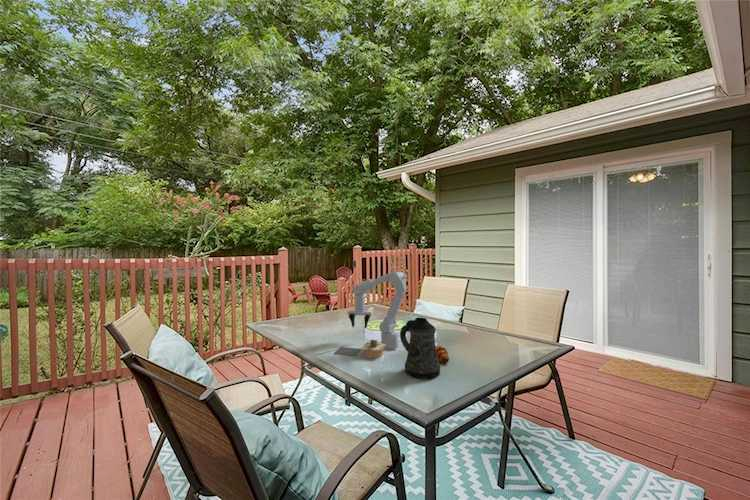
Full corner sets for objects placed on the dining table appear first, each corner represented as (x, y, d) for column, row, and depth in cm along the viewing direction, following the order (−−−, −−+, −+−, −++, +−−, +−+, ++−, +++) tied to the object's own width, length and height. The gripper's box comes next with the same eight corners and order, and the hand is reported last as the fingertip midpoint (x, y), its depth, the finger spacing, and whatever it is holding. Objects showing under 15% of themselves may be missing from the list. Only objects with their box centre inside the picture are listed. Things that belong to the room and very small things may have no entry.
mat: (362, 349, 191) (362, 348, 191) (355, 357, 178) (355, 356, 178) (340, 347, 194) (340, 346, 194) (332, 355, 182) (332, 354, 182)
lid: (386, 345, 185) (386, 338, 185) (381, 351, 174) (381, 344, 174) (366, 343, 187) (366, 337, 187) (360, 349, 177) (360, 342, 177)
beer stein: (440, 381, 149) (440, 324, 148) (395, 377, 153) (396, 321, 152) (440, 367, 165) (441, 316, 164) (400, 364, 169) (401, 314, 168)
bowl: (383, 354, 184) (383, 345, 184) (379, 359, 175) (380, 350, 175) (367, 352, 186) (367, 344, 186) (363, 357, 177) (363, 349, 177)
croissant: (423, 358, 188) (417, 346, 187) (437, 348, 191) (431, 336, 190) (443, 371, 168) (436, 357, 167) (458, 359, 171) (452, 346, 170)
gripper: (345, 305, 201) (345, 328, 201) (369, 306, 197) (369, 329, 198) (349, 302, 208) (349, 325, 208) (372, 304, 204) (372, 326, 204)
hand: (359, 327), depth 203 cm, fingers open, 7 cm apart
